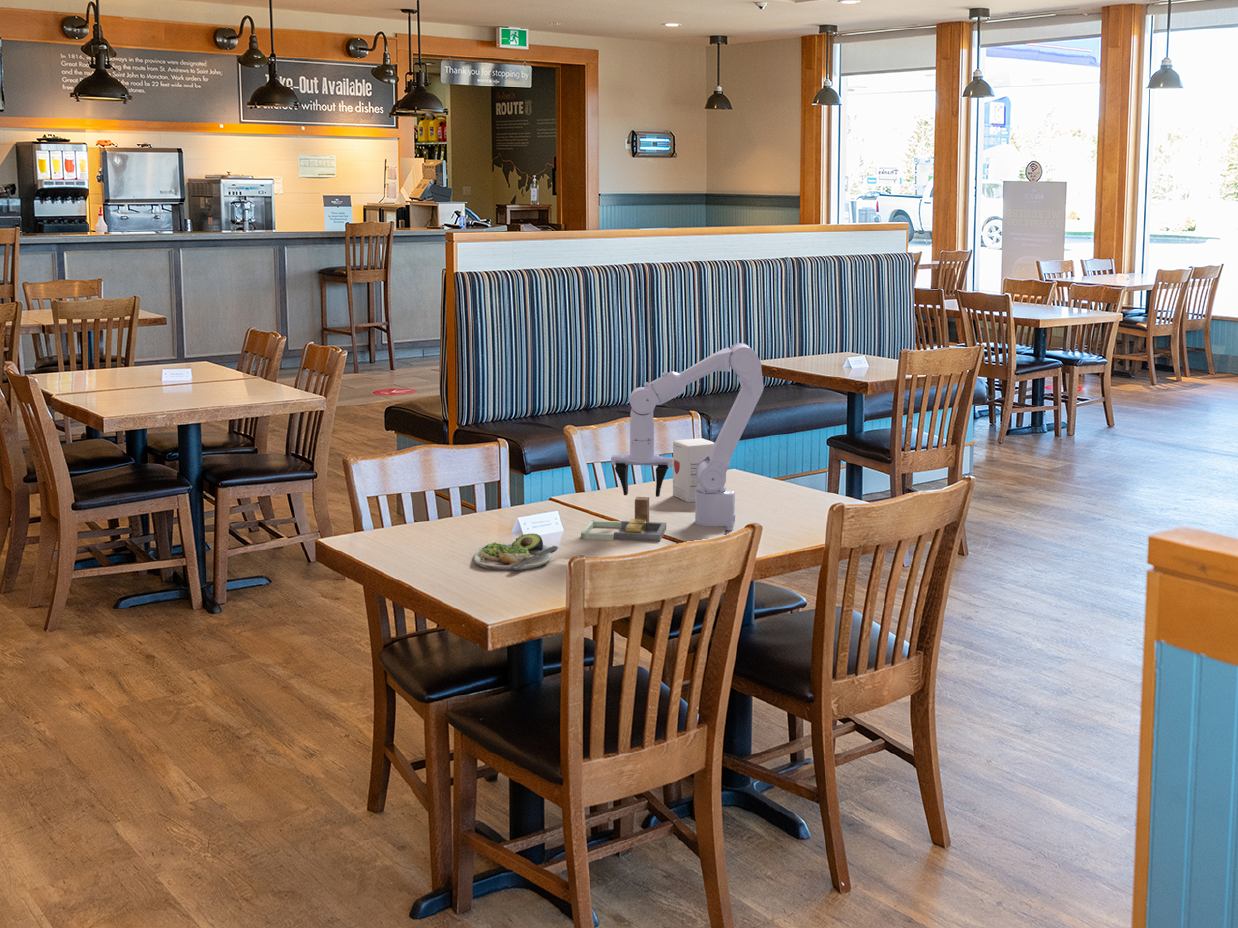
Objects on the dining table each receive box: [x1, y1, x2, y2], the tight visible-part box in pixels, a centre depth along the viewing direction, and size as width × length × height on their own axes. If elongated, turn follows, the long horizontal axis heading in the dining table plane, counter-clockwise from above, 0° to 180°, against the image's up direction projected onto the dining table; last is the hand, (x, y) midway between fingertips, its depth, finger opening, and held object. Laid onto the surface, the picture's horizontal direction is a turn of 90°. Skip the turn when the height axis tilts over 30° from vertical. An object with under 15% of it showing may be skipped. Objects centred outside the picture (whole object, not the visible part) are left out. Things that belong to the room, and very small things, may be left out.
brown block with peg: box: [634, 496, 650, 522], centre depth 292 cm, size 3×8×7 cm, turn 170°
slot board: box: [613, 520, 667, 542], centre depth 282 cm, size 10×11×2 cm
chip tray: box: [580, 520, 622, 541], centre depth 284 cm, size 8×12×2 cm, turn 170°
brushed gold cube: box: [629, 518, 646, 533], centre depth 284 cm, size 4×4×2 cm
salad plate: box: [473, 533, 559, 571], centre depth 264 cm, size 19×18×5 cm
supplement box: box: [672, 437, 715, 503], centre depth 321 cm, size 9×9×15 cm
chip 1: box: [626, 524, 643, 533], centre depth 280 cm, size 4×4×2 cm
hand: (641, 495), depth 291 cm, fingers open, 7 cm apart
